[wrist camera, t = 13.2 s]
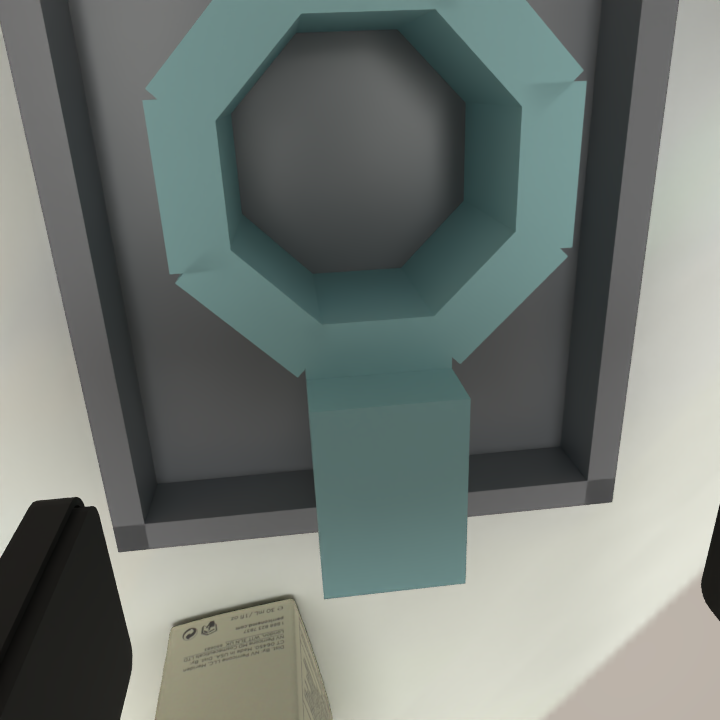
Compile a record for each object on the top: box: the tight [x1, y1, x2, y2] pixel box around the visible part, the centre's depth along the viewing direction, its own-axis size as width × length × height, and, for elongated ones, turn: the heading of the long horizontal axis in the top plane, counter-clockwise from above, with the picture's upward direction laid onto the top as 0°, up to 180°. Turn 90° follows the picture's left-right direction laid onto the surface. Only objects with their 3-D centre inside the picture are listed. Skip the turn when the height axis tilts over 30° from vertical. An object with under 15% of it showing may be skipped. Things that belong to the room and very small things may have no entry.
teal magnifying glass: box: [142, 0, 587, 599], centre depth 14 cm, size 12×8×6 cm, turn 2°
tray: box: [0, 0, 679, 552], centre depth 16 cm, size 18×14×2 cm
